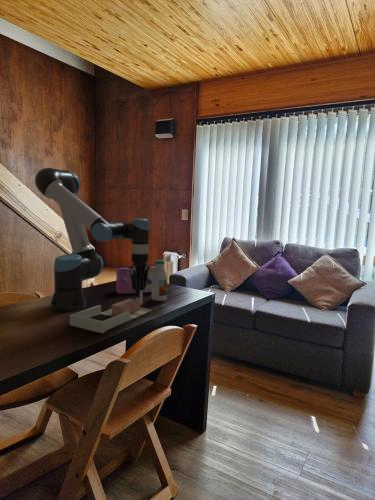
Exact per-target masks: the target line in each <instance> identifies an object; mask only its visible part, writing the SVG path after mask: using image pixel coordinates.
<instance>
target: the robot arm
mask: <svg viewBox="0 0 375 500" xmlns="http://www.w3.org/2000/svg"><path fill="white" fill-rule="evenodd" d="M34 183H35V187H36V189H37V190H38V191H39V192H40V193H41V194H42V195H43V196H44V197H46V199H48V200H53V201H54V202H55V203H56V204H58V206H59V210H60V213H61V216H62V220H63V222H64V227H65V230H66V234H67V236H68V240H69V243H70V246H71V250H72V251H71V253H69V254H63V255H60V256H57V257H55V259H54V263H53V271H54V272H53V275H54V276H53V277H54V279H53V281H54V283H53V284H54V286H53V287H54V291H53V295H52V298H51V301H50V309H51V310H52V311H54V312H60V313H63V312H64V313H65V312H66V313H67V312H68V313H70V312H75V311H79V310H83V309H84V308H86V307H87V301H86V298H85V295H84V292H83V281H88V280H90V279H93V278H96V277H97V276H99V275H100V274H101V273H102V271H103V269H104V261H103V257H101V255H99V254H98V253H96V248H95V247H92V246H91V243H90V241H89V238H88V233H87V230H86V228H87V229H88V231H90V234H91V236H92V238H93V239H94V240H95V241H97V242H107V241H113V240H120V239H123V240H131V262H132V263H133V264H132V266H133V269H132V270H129V272H130V275H131V282H132V289H133V290H135V291H136V293H135V300H140V301H141V305H143V295H144V292H143V290H145V287H146V284H147V277H148V271H149V269H150V267H147V266H148V265H147V262H149V249H150V247H149V245H150V244H149V239H150V237H149V236H150V221H149V220H148V219H147V218H133V219H132V220H131V222H123V221H121V222H120V221H110V222H108V221H107V220H106V219H105V218H103V217H102V216H101V215H100V214H98V213H97V212H96V211H95V210H93V209H92V208H91V207H90V206H89V205H87V204H86V203H85V202H84V201H83V200H81V199H80V198H79V195H80V194H79V191H80V187H81V183H80V179H79V177H78V175H77V174H75V173H73V172H72V171H69V170H66V169H57V168H52V167H45V168H42V169H40V170H39V171H38V172H37V173H36V175H35V178H34Z"/></svg>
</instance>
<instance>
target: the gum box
mask: <svg viewBox="0 0 375 500" xmlns="http://www.w3.org/2000/svg"><path fill="white" fill-rule="evenodd" d="M147 267H150V269H149V271H148V277H147V284H146V287H145V290H143V293H152V275H153V272H154V270H155V267H156V265H154V264H153V265H151V264H150V265H147ZM115 269H116V271H115V273H116V276H115V277H116V278H115V279H116V280H115V285H116V286H115V288H116V290H115V291H116V292H117V293H118V294H119V295H122V294H123V295H125V294H126V295H127V294H136V291H135V290H133V289H132V282H131V275H130V272H129V270H132V269H133V265H128V266H127V265H126V266H116V268H115Z"/></svg>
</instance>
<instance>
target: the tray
mask: <svg viewBox="0 0 375 500" xmlns="http://www.w3.org/2000/svg"><path fill="white" fill-rule="evenodd" d="M101 312H102V305H100V304H99V305H96V306H92V307H89V308H87V309H84V310H83V309H82V310H80V311H78V312H77V311H76V312H74V313H72V314H69V326H73V327H76V328H80V329H84V330H87V331H91V332H96V333H100V334H104V333H106V332H107V331H108V330H111V329H113V328H116V327H118V326H120V325H122V324H124V323H127V322H129V321H131V320H130V312H129V311H127V312H124V313H122V314H119V315H117V316H114V317H113V316H111V317H110V318H106V319H105V320H100V319H94V318H95V317H96V316H99V315H102V314H101ZM93 317H94V318H93Z"/></svg>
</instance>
